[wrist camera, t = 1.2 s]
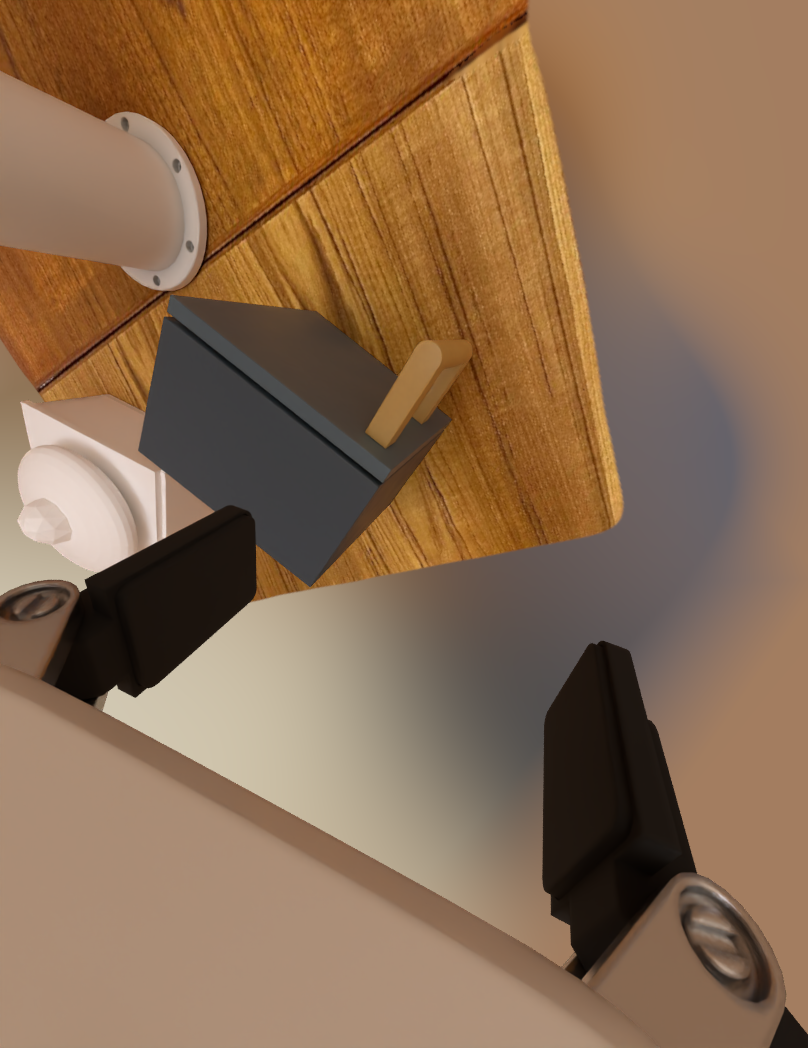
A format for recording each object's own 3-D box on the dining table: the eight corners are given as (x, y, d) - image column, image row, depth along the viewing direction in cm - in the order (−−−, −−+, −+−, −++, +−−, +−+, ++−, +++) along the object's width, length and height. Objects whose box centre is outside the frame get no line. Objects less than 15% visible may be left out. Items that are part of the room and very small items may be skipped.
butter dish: (216, 561, 53) (104, 637, 40) (116, 506, 56) (-22, 560, 42) (225, 451, 44) (83, 501, 31) (105, 391, 46) (-76, 412, 33)
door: (347, 235, 30) (196, 159, 17) (498, 356, 30) (460, 370, 17) (311, 321, 34) (166, 311, 21) (445, 428, 34) (382, 483, 21)
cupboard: (311, 324, 34) (163, 315, 21) (444, 430, 34) (379, 487, 21) (274, 413, 40) (137, 450, 27) (389, 504, 40) (309, 587, 27)
